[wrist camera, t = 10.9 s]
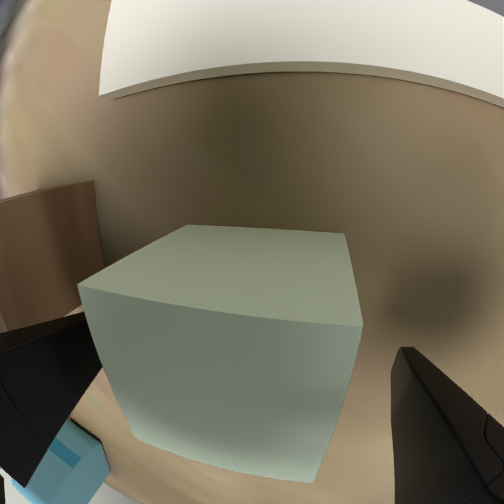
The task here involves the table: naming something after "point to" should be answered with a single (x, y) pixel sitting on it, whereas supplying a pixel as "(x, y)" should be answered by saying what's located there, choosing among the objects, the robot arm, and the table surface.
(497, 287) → the table surface
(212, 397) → the sage cube
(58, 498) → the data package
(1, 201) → the walnut block
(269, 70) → the board
